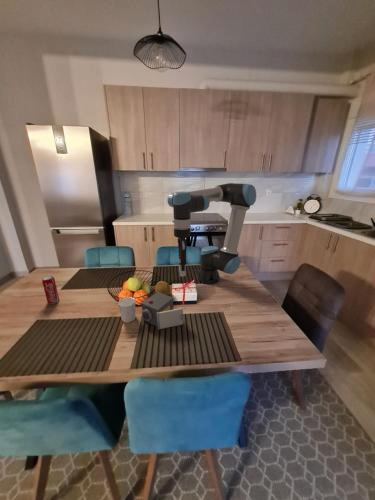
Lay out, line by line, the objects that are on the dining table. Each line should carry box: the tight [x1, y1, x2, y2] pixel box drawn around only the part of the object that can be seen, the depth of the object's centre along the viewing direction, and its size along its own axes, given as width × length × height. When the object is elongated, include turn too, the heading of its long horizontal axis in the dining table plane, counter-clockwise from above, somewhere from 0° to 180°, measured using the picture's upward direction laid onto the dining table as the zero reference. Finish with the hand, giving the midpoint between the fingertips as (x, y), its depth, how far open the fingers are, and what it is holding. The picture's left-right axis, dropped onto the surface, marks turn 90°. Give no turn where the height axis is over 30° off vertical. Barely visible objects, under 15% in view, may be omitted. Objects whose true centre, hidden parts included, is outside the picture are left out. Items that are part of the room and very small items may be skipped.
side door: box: [156, 307, 184, 330], centre depth 97 cm, size 12×2×9 cm, turn 107°
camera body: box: [141, 292, 174, 328], centre depth 103 cm, size 14×10×11 cm
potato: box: [154, 280, 171, 296], centre depth 122 cm, size 10×13×9 cm
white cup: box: [118, 296, 137, 324], centre depth 103 cm, size 8×8×10 cm
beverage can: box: [41, 275, 60, 305], centre depth 115 cm, size 6×6×15 cm
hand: (182, 273), depth 102 cm, fingers open, 4 cm apart
